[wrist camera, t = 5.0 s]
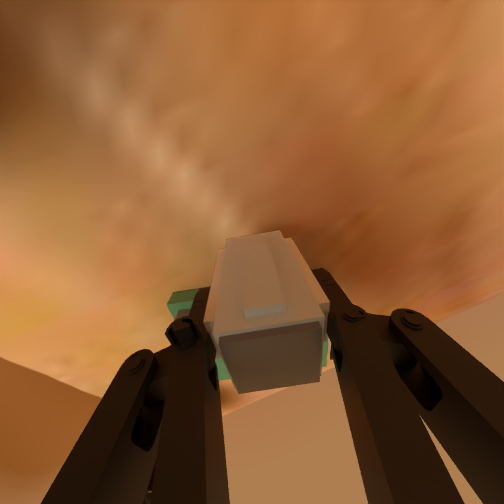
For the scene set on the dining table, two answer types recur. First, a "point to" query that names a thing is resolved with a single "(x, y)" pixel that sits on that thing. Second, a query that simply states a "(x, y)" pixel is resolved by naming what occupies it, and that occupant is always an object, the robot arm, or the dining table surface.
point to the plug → (267, 316)
